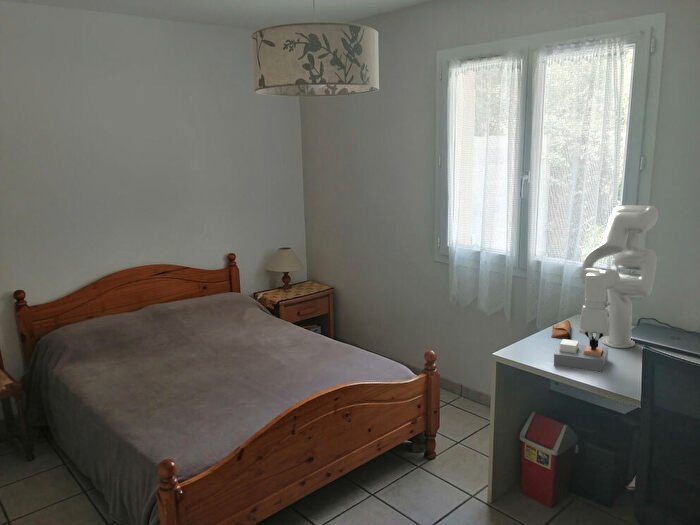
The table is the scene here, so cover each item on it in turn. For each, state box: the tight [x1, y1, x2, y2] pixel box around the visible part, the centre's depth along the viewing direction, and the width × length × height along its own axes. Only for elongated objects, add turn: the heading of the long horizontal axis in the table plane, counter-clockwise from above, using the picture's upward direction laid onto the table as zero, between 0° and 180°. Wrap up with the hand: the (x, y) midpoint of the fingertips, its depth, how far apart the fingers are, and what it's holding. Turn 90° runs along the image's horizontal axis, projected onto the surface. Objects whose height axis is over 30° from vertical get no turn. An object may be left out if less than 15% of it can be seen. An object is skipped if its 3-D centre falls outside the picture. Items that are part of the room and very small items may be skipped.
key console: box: [553, 343, 609, 374], centre depth 215 cm, size 14×18×5 cm
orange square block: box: [584, 345, 604, 357], centre depth 213 cm, size 6×6×4 cm
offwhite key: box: [559, 339, 580, 353], centre depth 217 cm, size 6×6×4 cm
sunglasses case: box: [550, 319, 572, 340], centre depth 250 cm, size 18×7×7 cm, turn 159°
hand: (593, 348), depth 212 cm, fingers closed
